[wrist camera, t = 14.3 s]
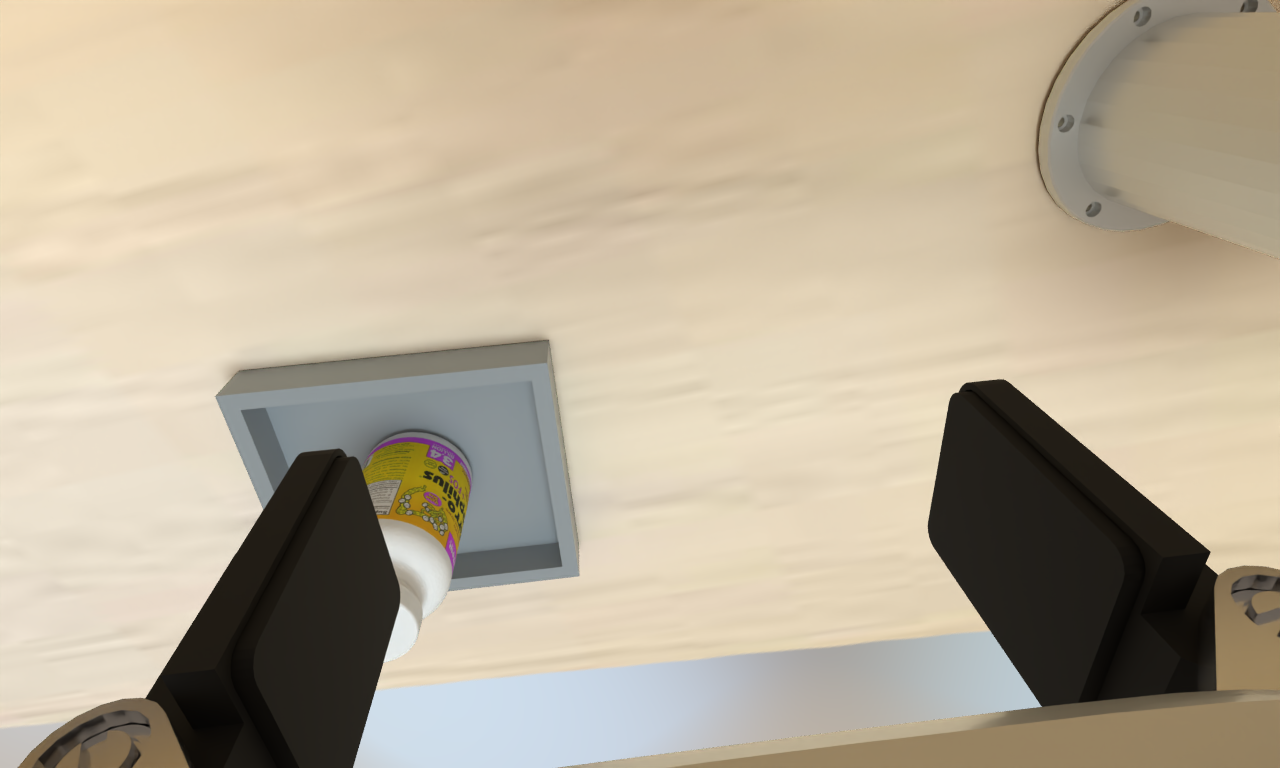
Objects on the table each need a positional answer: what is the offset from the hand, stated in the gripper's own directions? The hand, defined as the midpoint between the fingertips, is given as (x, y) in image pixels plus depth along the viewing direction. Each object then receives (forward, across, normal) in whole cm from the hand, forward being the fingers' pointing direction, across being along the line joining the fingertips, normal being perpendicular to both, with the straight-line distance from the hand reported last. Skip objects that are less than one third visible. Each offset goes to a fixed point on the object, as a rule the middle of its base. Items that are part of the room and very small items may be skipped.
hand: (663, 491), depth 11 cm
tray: (+28, +13, +18) cm, 36 cm away
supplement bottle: (+28, +13, +18) cm, 36 cm away
